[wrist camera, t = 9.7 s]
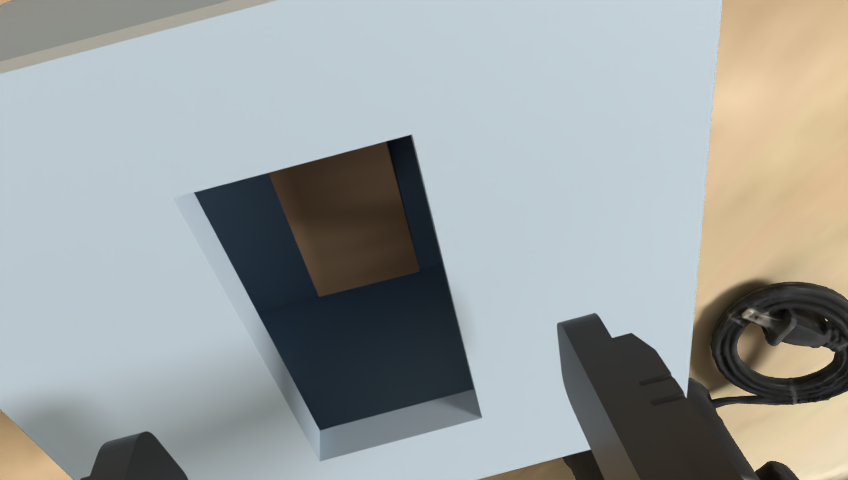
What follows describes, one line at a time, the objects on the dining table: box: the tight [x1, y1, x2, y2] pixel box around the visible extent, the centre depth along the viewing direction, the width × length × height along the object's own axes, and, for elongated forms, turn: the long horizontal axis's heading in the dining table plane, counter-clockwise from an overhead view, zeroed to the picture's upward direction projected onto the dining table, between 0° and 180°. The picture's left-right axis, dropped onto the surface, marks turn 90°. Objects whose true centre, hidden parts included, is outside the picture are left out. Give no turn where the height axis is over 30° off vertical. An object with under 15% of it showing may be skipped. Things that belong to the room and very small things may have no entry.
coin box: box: [0, 0, 722, 480], centre depth 17 cm, size 16×14×10 cm
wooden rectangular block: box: [268, 141, 420, 297], centre depth 17 cm, size 3×6×6 cm
